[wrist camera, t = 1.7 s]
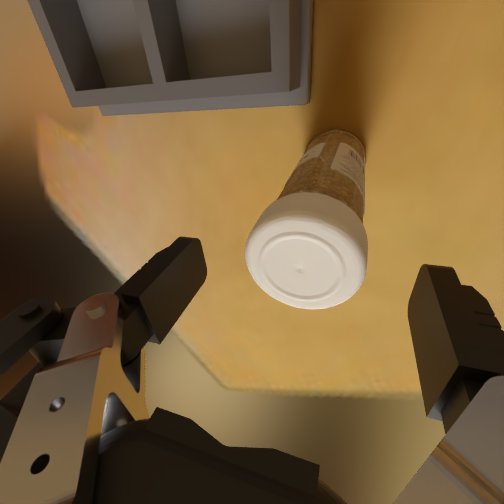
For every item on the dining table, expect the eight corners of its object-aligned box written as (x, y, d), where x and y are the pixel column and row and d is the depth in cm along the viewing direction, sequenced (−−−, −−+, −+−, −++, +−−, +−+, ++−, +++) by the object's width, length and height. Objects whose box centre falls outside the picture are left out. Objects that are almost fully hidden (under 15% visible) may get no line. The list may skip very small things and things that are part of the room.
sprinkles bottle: (300, 135, 20) (227, 218, 9) (366, 122, 18) (366, 207, 7) (307, 193, 22) (256, 309, 12) (367, 186, 20) (368, 319, 10)
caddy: (319, -174, 12) (303, -253, 9) (309, 102, 18) (298, 111, 15) (47, -68, 18) (-19, -94, 15) (111, 114, 24) (73, 122, 21)
